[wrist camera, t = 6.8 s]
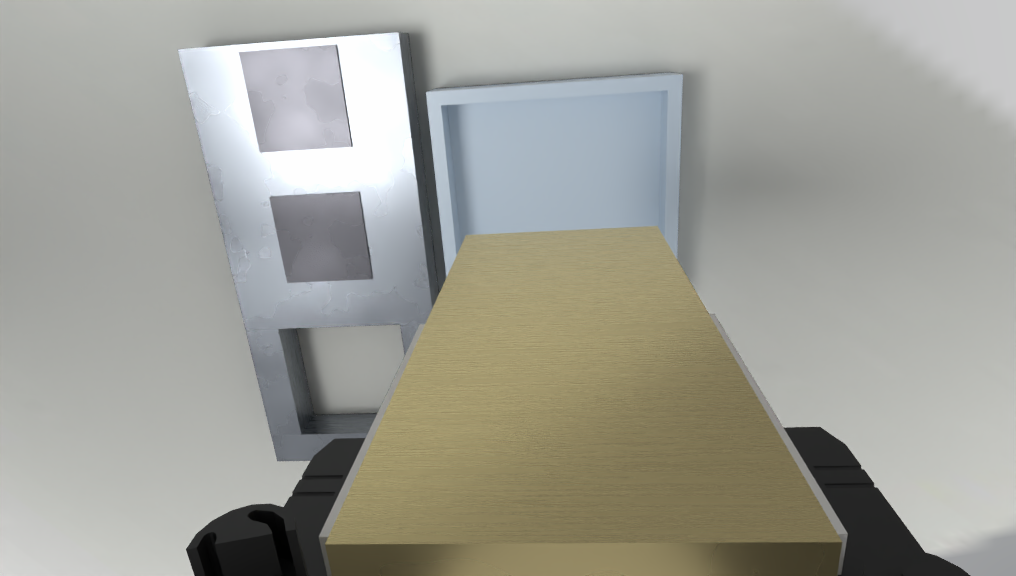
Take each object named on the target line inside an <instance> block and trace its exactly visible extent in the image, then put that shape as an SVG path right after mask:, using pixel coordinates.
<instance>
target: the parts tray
mask: <svg viewBox="0 0 1016 576" xmlns="http://www.w3.org/2000/svg"><path fill="white" fill-rule="evenodd" d="M682 85H683V74H678V73H673V72H668V73H653V74H639V75H625V76H610V77H596V78H581V79H567V80H552V81H538V82H523V83H509V84H494V85H480V86H465V87H451V88H436V89H433V90H430V91H427V92H426V98H427V107H428V116H429V125H430V134H431V143H432V152H433V161H434V170H435V179H436V188H437V197H438V206H439V215H440V224H441V233H442V242H443V251H444V260H445V269H446V278H447V276H448V273H449V271H450V269H451V267H452V265H453V262H454V260H455V258H456V256H457V254H458V251H459V249H460V247H461V245H462V243H463V241H464V238H465V236H466V235H477V234H498V233H519V232H540V231H560V230H581V229H602V228H623V227H644V226H658V228H659V230H660V231H661V233H662V235H663V236H664V238H665V240H666V242H667V243H668V245H669V247H670V248H671V250H672V252H673V254H674V255H675V257H676V259H677V250H678V217H679V184H680V151H681V118H682Z"/></svg>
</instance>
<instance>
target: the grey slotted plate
mask: <svg viewBox="0 0 1016 576" xmlns="http://www.w3.org/2000/svg"><path fill="white" fill-rule="evenodd" d="M178 52H179V56H180V61H181V65H182V69H183V73H184V77H185V81H186V85H187V89H188V94H189V98H190V102H191V106H192V110H193V114H194V118H195V123H196V127H197V131H198V135H199V139H200V143H201V147H202V151H203V156H204V160H205V164H206V168H207V172H208V176H209V180H210V185H211V189H212V193H213V197H214V201H215V205H216V209H217V213H218V218H219V222H220V226H221V230H222V234H223V238H224V242H225V247H226V251H227V255H228V259H229V263H230V267H231V271H232V275H233V280H234V284H235V288H236V292H237V296H238V300H239V304H240V309H241V313H242V317H243V321H244V325H245V329H246V333H247V337H248V342H249V346H250V350H251V354H252V358H253V362H254V366H255V371H256V375H257V379H258V383H259V387H260V391H261V395H262V399H263V404H264V408H265V412H266V416H267V420H268V424H269V428H270V432H271V437H272V441H273V445H274V449H275V453H276V457H277V461H311V460H312V458H313V456H314V455H315V454H317V453H318V452H319V451H320V450H321V449H323V448H324V447H325V446H326V445H327V444H329V443H330V442H331V441H332V440H333V439H338V438H366V436H367V434H368V432H369V430H370V428H371V426H372V424H373V422H374V420H375V417H376V415H377V413H368V414H327V415H314V412H313V407H312V403H311V398H310V393H309V388H308V384H307V379H306V374H305V369H304V365H303V360H302V355H301V350H300V345H299V341H298V336H297V331H296V328H316V327H343V326H370V325H398V324H400V326H401V333H402V340H403V347H404V354H406V352H407V350H408V348H409V346H410V344H411V342H412V340H413V338H414V336H415V334H416V331H417V329H418V327H419V325H420V324H426V322H427V319H428V317H429V315H430V313H431V311H432V308H433V306H434V304H435V302H436V300H437V297H438V295H439V291H438V283H437V274H436V266H435V257H434V249H433V240H432V231H431V223H430V214H429V206H428V197H427V189H426V180H425V171H424V163H423V154H422V146H421V137H420V129H419V120H418V112H417V103H416V94H415V86H414V77H413V69H412V60H411V52H410V43H409V35H408V33H401V32H395V33H383V34H370V35H357V36H344V37H331V38H318V39H305V40H292V41H279V42H266V43H253V44H240V45H227V46H214V47H201V48H189V49H178Z"/></svg>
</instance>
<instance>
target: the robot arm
mask: <svg viewBox="0 0 1016 576" xmlns="http://www.w3.org/2000/svg"><path fill="white" fill-rule="evenodd" d="M709 315H710V317H711V318H712V320H713V322H714V324H715V325H716V327H717V329H718V330H719V332H720V334H721V336H722V337H723V339H724V341H725V342H726V344H727V346H728V348H729V349H730V351H731V353H732V354H733V356H734V358H735V359H736V361H737V363H738V365H739V366H740V368H741V370H742V371H743V373H744V375H745V377H746V378H747V380H748V382H749V383H750V385H751V387H752V389H753V390H754V392H755V394H756V395H757V397H758V399H759V400H760V402H761V404H762V406H763V407H764V409H765V411H766V412H767V414H768V416H769V418H770V419H771V421H772V423H773V424H774V426H775V428H776V430H777V431H778V433H779V435H780V436H781V438H782V440H783V442H784V443H785V445H786V447H787V448H788V450H789V452H790V453H791V455H792V457H793V459H794V460H795V462H796V464H797V465H798V467H799V469H800V471H801V472H802V474H803V476H804V477H805V479H806V481H807V483H808V484H809V486H810V488H811V489H812V491H813V493H814V494H815V496H816V498H817V500H818V501H819V503H820V505H821V506H822V508H823V510H824V512H825V513H826V515H827V517H828V518H829V520H830V522H831V524H832V525H833V527H834V529H835V530H836V532H837V534H838V535H839V537H840V539H841V541H842V548H841V554H840V560H839V567H838V573H837V576H970V575H968V573H966V572H965V571H964V570H963V569H961V568H960V567H958V566H956V565H954V564H951V563H950V562H948V561H946V560H944V559H942V558H940V557H938V556H936V555H932V554H928V553H925V552H924V550H923V549H922V548H921V546H920V545H919V544H918V542H917V541H916V539H915V538H914V537H913V535H912V534H911V533H910V531H909V530H908V529H907V527H906V526H905V525H904V523H903V522H902V520H901V519H900V518H899V516H898V515H897V514H896V512H895V511H894V510H893V508H892V507H891V506H890V504H889V503H888V501H887V500H886V499H885V497H884V496H883V495H882V493H881V492H880V491H879V489H878V488H875V487H874V482H873V481H872V480H871V478H870V477H869V476H868V474H867V473H866V472H865V470H862V469H861V465H860V464H859V462H858V461H857V459H856V458H855V457H854V455H853V454H852V453H851V451H850V450H849V449H848V447H847V446H846V445H845V444H844V443H843V442H841V441H840V440H838V439H837V438H835V437H834V436H832V435H831V434H829V433H828V432H826V431H825V430H824V429H822V428H821V427H795V428H783V426H782V425H781V423H780V421H779V420H778V418H777V416H776V415H775V413H774V411H773V410H772V408H771V406H770V405H769V403H768V401H767V400H766V398H765V397H764V395H763V393H762V392H761V390H760V388H759V387H758V385H757V383H756V382H755V380H754V378H753V377H752V375H751V373H750V372H749V370H748V369H747V367H746V365H745V364H744V362H743V360H742V359H741V357H740V355H739V354H738V352H737V350H736V349H735V347H734V345H733V344H732V342H731V341H730V339H729V337H728V336H727V334H726V332H725V331H724V329H723V327H722V326H721V324H720V322H719V321H718V319H717V317H716V316H715V314H709ZM424 326H425V324H420V325H419V327H418V329H417V331H416V334H415V336H414V338H413V340H412V342H411V344H410V346H409V348H408V350H407V352H406V354H405V357H404V359H403V361H402V363H401V365H400V367H399V369H398V371H397V373H396V375H395V378H394V380H393V382H392V384H391V386H390V388H389V390H388V392H387V394H386V396H385V399H384V401H383V403H382V405H381V407H380V409H379V411H378V413H377V415H376V417H375V420H374V422H373V424H372V426H371V428H370V430H369V432H368V434H367V436H366V438H338V439H333V440H332V441H331V442H330V443H329V444H327V445H326V446H325V447H324V448H323V449H321V450H320V451H319V452H318V453H317V454H315V455H314V456H313V458H312V460H311V461H310V463H309V465H308V467H307V468H306V470H305V472H304V473H303V475H302V480H299V482H298V484H297V485H296V487H295V489H294V491H293V495H292V496H291V497H289V499H288V501H287V503H286V504H285V506H284V507H280V506H277V505H273V504H256V505H249V506H246V507H242V508H239V509H235V510H232V511H230V512H228V513H226V514H224V515H222V516H220V517H218V518H217V519H215V520H213V521H211V522H210V523H209V524H208V525H207V526H205V527H204V528H203V529H202V530H201V531H200V532H198V533H197V534H196V535H195V537H194V538H193V540H192V541H191V543H190V544H189V546H188V547H187V549H186V551H187V554H188V557H189V560H190V563H191V566H192V569H193V572H194V575H195V576H332V574H331V570H330V565H329V561H328V556H327V552H326V547H325V543H326V541H327V538H328V536H329V534H330V532H331V530H332V527H333V525H334V523H335V521H336V519H337V517H338V514H339V512H340V510H341V508H342V506H343V503H344V501H345V499H346V497H347V495H348V492H349V490H350V488H351V486H352V484H353V481H354V479H355V477H356V475H357V473H358V471H359V468H360V466H361V464H362V462H363V460H364V457H365V455H366V453H367V451H368V449H369V446H370V444H371V442H372V440H373V438H374V435H375V433H376V431H377V429H378V427H379V425H380V422H381V420H382V418H383V416H384V414H385V411H386V409H387V407H388V405H389V403H390V400H391V398H392V396H393V394H394V392H395V389H396V387H397V385H398V383H399V381H400V379H401V376H402V374H403V372H404V370H405V368H406V365H407V363H408V361H409V359H410V357H411V354H412V352H413V350H414V348H415V346H416V343H417V341H418V339H419V337H420V335H421V333H422V330H423V328H424Z"/></svg>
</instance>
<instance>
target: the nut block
mask: <svg viewBox="0 0 1016 576" xmlns="http://www.w3.org/2000/svg"><path fill="white" fill-rule="evenodd" d="M325 547H326V552H327V556H328V561H329V565H330V570H331V574H332V576H837V573H838V567H839V560H840V554H841V548H842V541H841V539H840V537H839V535H838V534H837V532H836V530H835V529H834V527H833V525H832V524H831V522H830V520H829V518H828V517H827V515H826V513H825V512H824V510H823V508H822V506H821V505H820V503H819V501H818V500H817V498H816V496H815V494H814V493H813V491H812V489H811V488H810V486H809V484H808V483H807V481H806V479H805V477H804V476H803V474H802V472H801V471H800V469H799V467H798V465H797V464H796V462H795V460H794V459H793V457H792V455H791V453H790V452H789V450H788V448H787V447H786V445H785V443H784V442H783V440H782V438H781V436H780V435H779V433H778V431H777V430H776V428H775V426H774V424H773V423H772V421H771V419H770V418H769V416H768V414H767V412H766V411H765V409H764V407H763V406H762V404H761V402H760V400H759V399H758V397H757V395H756V394H755V392H754V390H753V389H752V387H751V385H750V383H749V382H748V380H747V378H746V377H745V375H744V373H743V371H742V370H741V368H740V366H739V365H738V363H737V361H736V359H735V358H734V356H733V354H732V353H731V351H730V349H729V348H728V346H727V344H726V342H725V341H724V339H723V337H722V336H721V334H720V332H719V330H718V329H717V327H716V325H715V324H714V322H713V320H712V318H711V317H710V315H709V313H708V312H707V310H706V308H705V307H704V305H703V303H702V301H701V300H700V298H699V296H698V295H697V293H696V291H695V289H694V288H693V286H692V284H691V283H690V281H689V279H688V277H687V276H686V274H685V272H684V271H683V269H682V267H681V265H680V264H679V262H678V260H677V259H676V257H675V255H674V254H673V252H672V250H671V248H670V247H669V245H668V243H667V242H666V240H665V238H664V236H663V235H662V233H661V231H660V230H659V228H658V226H644V227H623V228H602V229H581V230H560V231H540V232H519V233H498V234H477V235H466V236H465V238H464V241H463V243H462V245H461V247H460V249H459V251H458V254H457V256H456V258H455V260H454V262H453V265H452V267H451V269H450V271H449V273H448V276H447V278H446V280H445V282H444V284H443V287H442V289H441V291H440V293H439V295H438V297H437V300H436V302H435V304H434V306H433V308H432V311H431V313H430V315H429V317H428V319H427V322H426V324H425V326H424V328H423V330H422V333H421V335H420V337H419V339H418V341H417V343H416V346H415V348H414V350H413V352H412V354H411V357H410V359H409V361H408V363H407V365H406V368H405V370H404V372H403V374H402V376H401V379H400V381H399V383H398V385H397V387H396V389H395V392H394V394H393V396H392V398H391V400H390V403H389V405H388V407H387V409H386V411H385V414H384V416H383V418H382V420H381V422H380V425H379V427H378V429H377V431H376V433H375V435H374V438H373V440H372V442H371V444H370V446H369V449H368V451H367V453H366V455H365V457H364V460H363V462H362V464H361V466H360V468H359V471H358V473H357V475H356V477H355V479H354V481H353V484H352V486H351V488H350V490H349V492H348V495H347V497H346V499H345V501H344V503H343V506H342V508H341V510H340V512H339V514H338V517H337V519H336V521H335V523H334V525H333V527H332V530H331V532H330V534H329V536H328V538H327V541H326V543H325Z"/></svg>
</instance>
